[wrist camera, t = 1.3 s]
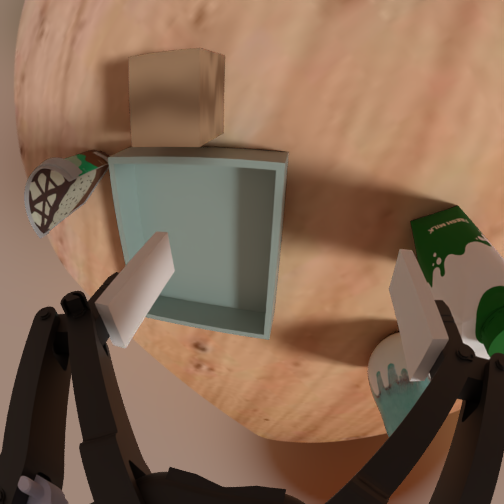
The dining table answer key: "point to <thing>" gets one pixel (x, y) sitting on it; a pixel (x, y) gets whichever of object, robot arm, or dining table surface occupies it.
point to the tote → (207, 230)
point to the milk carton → (464, 276)
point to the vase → (393, 382)
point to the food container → (62, 188)
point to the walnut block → (176, 98)
